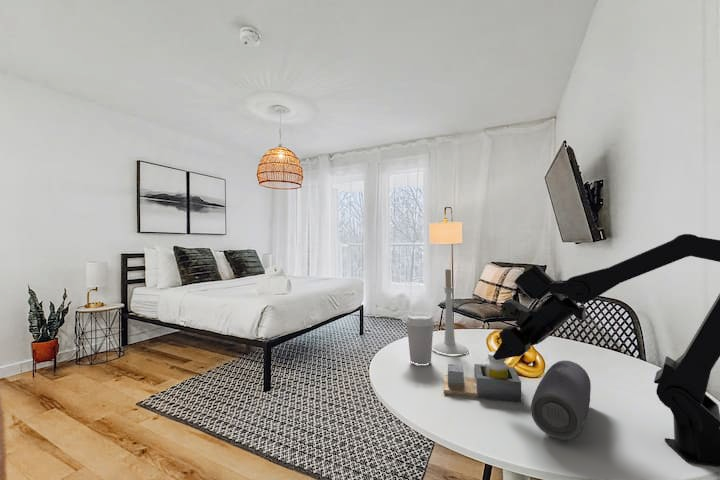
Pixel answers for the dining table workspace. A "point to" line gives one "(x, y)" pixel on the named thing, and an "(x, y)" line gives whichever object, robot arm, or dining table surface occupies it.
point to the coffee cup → (420, 337)
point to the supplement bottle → (496, 367)
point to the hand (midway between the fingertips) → (501, 353)
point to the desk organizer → (482, 384)
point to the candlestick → (449, 324)
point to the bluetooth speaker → (562, 400)
